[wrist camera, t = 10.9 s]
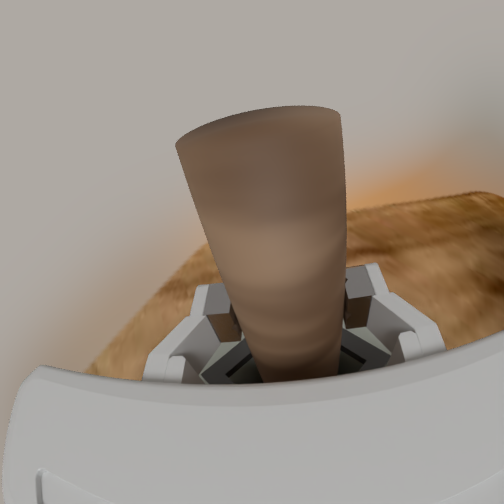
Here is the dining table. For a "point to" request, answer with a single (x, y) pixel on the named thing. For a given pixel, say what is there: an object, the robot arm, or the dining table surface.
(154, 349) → the robot arm
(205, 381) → the collar block
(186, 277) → the dining table surface
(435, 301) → the dining table surface
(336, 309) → the dowel
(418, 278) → the dining table surface
